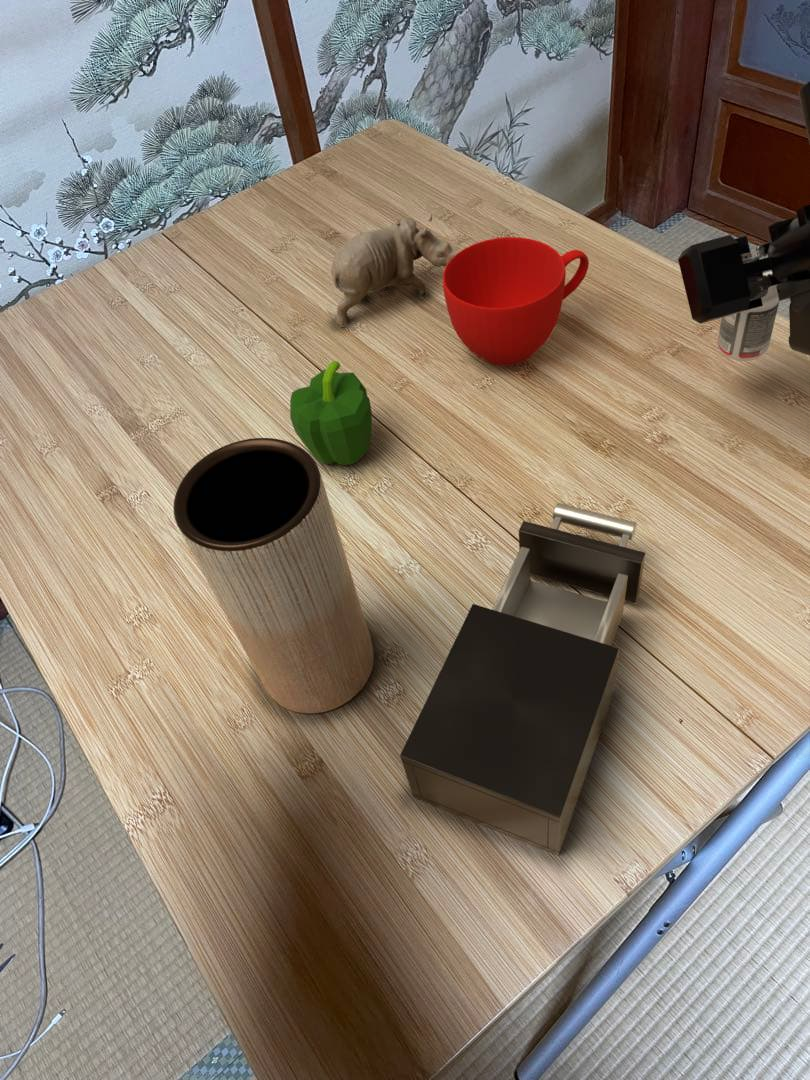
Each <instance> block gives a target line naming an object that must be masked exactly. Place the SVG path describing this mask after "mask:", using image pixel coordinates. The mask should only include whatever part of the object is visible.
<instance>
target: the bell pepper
mask: <svg viewBox="0 0 810 1080" xmlns="http://www.w3.org/2000/svg"><path fill="white" fill-rule="evenodd" d="M340 368H341V364H340V362H339V361H337V360H332V361H331V362H329V364H328V365H327V367H326V369H324V370H322V371H320V372H319V373H318V374H316V375H314V376H313V377H312V378H311V379H310V382H309V386H305V387H301V388H297V389H295V390H293V391H292V392H291V395H290V399H289V404H290V405H289V408H290V409H289V411H290V412H289V415H290V416H289V417H290V421H291V424H292V427H293V429H294V432H295V434H296V435H297V437H298V438H299V440H300V441H301V442H302V443H303V445H304V447H306V449H308V451H309V452H310V453H311V454H312V456H313V457H314V458H315V459H316V460H317V461H319V462H321V463H322V464H326V465H331V464H333V463H336V464H338V465H341V466H342V465H344V466H352V465H353V464H354V463H356V462H359V461H360V460H362V458H364V456H365V454H366V453H367V452H368V450H369V449H370V447H371V444H372V443H371V442H372V435H373V434H372V433H373V432H372V431H373V430H372V429H373V411H372V405H371V401H370V397H369V396H368V393H367V392H368V391H367V389H366V388H365V386H364V385H363V383H362V382H361V380H360V379H359V377H358V376H357V375H356V374H355V373H354V372H352V371H351V372H338V371H339V369H340Z"/></svg>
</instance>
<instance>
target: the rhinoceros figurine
mask: <svg viewBox="0 0 810 1080" xmlns="http://www.w3.org/2000/svg"><path fill="white" fill-rule="evenodd" d="M432 221H433V214H430V215H429V216H428V219H427V222H428V223H431V222H432ZM394 222H395V223H392V224H391V225H390V226H387V227H383V228H379V229H376V230H375V229H374V230H370V231H365V232H362V233H359V234H356V235H354V236H353V237H352V238H350V239H348V240H347V241H346V242H344V243H343V244H341V246H340V247H339V248H338V250H337V251H336V252H335V253H334V256H333V260H332V264H331V270H330V273H331V277H332V282H333V286H334V287H335V288H336V289H338V290H339V291H340V292H341V293H343V295H344V297H343V298H342V300H341V301H340V302H339V303H338V304H337V308H336V315H335V320H336V324H338V325H339V326H340V328H344V327H347V326H349V325H350V324H351V323H352V320H351V319H350V316H349V315H348V314H347V313H348V312H349V310H350V309H352V308H353V307H354V306H356V305H358V304H359V303H363V302H366V301H367V297H368V296H369V295H368V294H369V293H372V292H375V291H379V290H382V289H384V288H387V287H403V288H409V287H413V288H416V290H418V296H419V297H418V298H419V299H420V300H424V299H425V297H427V296H428V292H426V284H425V282H424V281H423V279H421V278H420V277H419V276H417V275H415V273H414V270H415V267H414V261H417V260H418V259H421V258H422V257H423V258H424V259H425V260H426V261H428V262H430V263H431V265H433V267H436V268H440V267H446V265H447V264H448V263H449V261H450V260H451V259H452V258H453V257H454V256H455V255H456V254H457V253H459V252H460V251H461V250H458V249H457V250H456V249H453V247H452V246H451V244H450V242H448V241H443V240H440V239H439V238H437V236H435V235H434V234H433V233H432V232H431V230H429V229H428V226H427V225H425V227H424V228H422V227H419V228H418V227H417V221H415V219H414V218H412V217H404V218H402V219H400V220H399V219H398V220H395V221H394Z"/></svg>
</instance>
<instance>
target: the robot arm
mask: <svg viewBox="0 0 810 1080" xmlns="http://www.w3.org/2000/svg"><path fill="white" fill-rule="evenodd" d="M797 95H798V99H799V102H800V107H801V112H802V116H803V121H804V125H805V130H806V133H807V138H808V143H809V144H810V81H808V82H807V83H805V84H804V85H803V86H802V87H801V88H800V89H799V91H798V94H797ZM795 213H796V216H795V217H791V218H787V219H785V220H781V221H777V222H773V223H771V224H770V225H769V226H767V228H768V229H767V230H768V232H769V237H770V241H767V242H764V243H760V244H758V245H757V246H756V247H755V252H756V255H757V256H754V257H753V255H752V252H751V248H750V244H749V240H748V236H747V235H744V236H741V237H737V238H734V237H733V236H732V234H728V235H723V236H719V237H716V238H713V239H709V240H705V241H702V242H697V243H695V244H691V245H690V246H688V247H687V248H685V249H683V250H682V252H681V253H680V255H679V257H678V259H677V261H678V265H679V269H680V273H681V277H682V282H683V286H684V290H685V294H686V298H687V299H686V300H687V303H688V306H689V307H688V308H689V311H690V315H691V319H692V320H693V321H695V322H696V323H698V324H699V325H700V324H701V325H702V324H705V323H709V322H712V321H715V320H720V319H722V318H723V317H727V316H730V315H733V314H736V313H739V312H742V311H746V310H750V309H753V308H757V307H760V306H763V304H762V299H761V298H762V297H764V296H765V295H766V294H767V293H768V289H769V287H771V286H775V285H777V286H776V289H777V293H778V297H779V302H782V301H785V300H789V306H788V315H789V316H788V317H789V318H788V319H789V321H788V322H789V336H788V346H789V348H790V349H791V350H792V351H794V352H797V353H800V354H804V355H806V356H810V204H806V205H803V206H801V207H799V208H797V209H796V210H795ZM769 271H772V275H771V274H768V275H767V276H766V275H764V276H763V273H766V272H769Z"/></svg>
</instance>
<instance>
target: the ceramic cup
mask: <svg viewBox="0 0 810 1080" xmlns="http://www.w3.org/2000/svg"><path fill="white" fill-rule="evenodd" d="M459 251H460V252H459V253H457V254H456V255H455V256H454V257H453V258H452V259H451V260H450V261H449V263H448V264H447V265H446V266H444V267H445V268H444V270H443V273H442V289H443V296H444V301H445V304H446V308H447V312H448V317H449V319H450V321H451V325H452V327H453V330H454V332H455V333H456V335H457V336H458V338H459V340H461V342H462V343H463V345H464V346H465V347H466V348H467V349H469V350H470V352H472V353H473V354H475V355H476V356H478V357H479V358H481V359H482V360H483V361H485V362H486V363H488V364H492V365H495V366H503V367H505V366H513V365H517V364H520V363H523V362H525V361H527V360H528V359H529V358H530V357H531V356H532V355H534V353H536V352H537V351H539V350H540V349H541V348H542V346H543V345H544V344H545V343H546V342H547V341H548V339H550V337H551V335H552V333H553V332H554V329H555V328H556V326H557V324H558V321H559V318H560V314H561V310H562V306H563V301H564V300H565V299H566V298H567V297H568V298H569V296H570V295H571V294H572V293H573V292H574V291H576V290H577V288H578V287H579V286H580V285H581V283H582V282H583V281H584V279H585V277H586V275H587V272H588V270H589V266H590V260H589V258H588V255H587V254H586V253H585V252H584V251H583V250H580V249H572V250H569V251H567V252H565V253H564V254H562V255H561V254H560V253H559V252H558V251H557V249H555V248H554V247H552V246H550V245H549V244H547V243H544V242H541V241H540V240H536V239H533V238H528V237H527V238H526V237H519V236H518V237H516V236H506V237H496V238H490V239H485V240H481V241H479V242H476V243H473V244H471V245H469V246H467V247H464V248H463V249H462V250H459ZM577 259H579V264H578V267H577V269H576V271H575V273H574V275H573V276H572V277H571V279H570V280H569V281H568V282H567V283H566V274H567V273H566V268H567V266H568V265H569V264H570V263H572V262H573V261H575V260H577Z"/></svg>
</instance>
